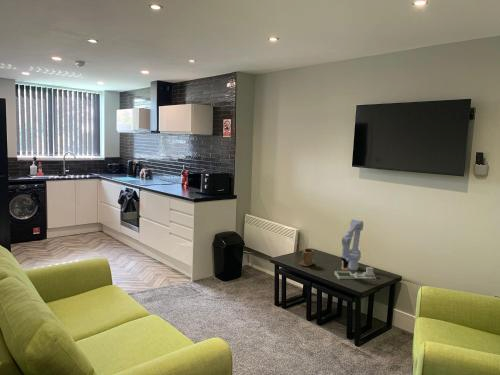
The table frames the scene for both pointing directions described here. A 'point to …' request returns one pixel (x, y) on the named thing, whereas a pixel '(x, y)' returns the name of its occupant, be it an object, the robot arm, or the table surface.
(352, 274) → the tray
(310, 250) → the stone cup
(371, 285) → the table surface
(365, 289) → the table surface
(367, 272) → the block
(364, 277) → the fuse block
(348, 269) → the block
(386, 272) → the table surface
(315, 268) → the table surface
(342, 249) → the robot arm
